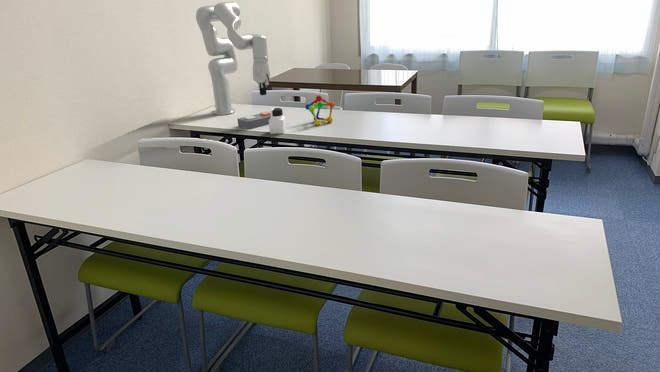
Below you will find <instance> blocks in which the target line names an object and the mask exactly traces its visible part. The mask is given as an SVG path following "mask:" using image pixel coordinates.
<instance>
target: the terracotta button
mask: <svg viewBox="0 0 660 372" xmlns="http://www.w3.org/2000/svg"><path fill="white" fill-rule="evenodd" d="M259 114H260V115H262V116H269V115H271V114H270V111H269V110H268V111H263V112H260V113H259Z"/></svg>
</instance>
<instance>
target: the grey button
mask: <svg viewBox="0 0 660 372" xmlns="http://www.w3.org/2000/svg"><path fill="white" fill-rule="evenodd" d="M248 116H249V117H247V116H244V117H245V119H247V120H252V119H256V117H254V116H251V115H248Z"/></svg>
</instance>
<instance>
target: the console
mask: <svg viewBox="0 0 660 372" xmlns="http://www.w3.org/2000/svg"><path fill="white" fill-rule="evenodd" d="M249 116H254V117H256V119H252V120H247V119H245V117H249ZM270 118H271V115H269V116H262V115H260V113H256V114H253V115H252V114H251V115H247V116H244V117H238V118H237V120H236V121H237V126H238V127H240V128H243V129H246V130H251V129H254V128H260V127H263V126H267V125H269V119H270Z"/></svg>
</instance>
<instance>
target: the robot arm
mask: <svg viewBox="0 0 660 372" xmlns="http://www.w3.org/2000/svg"><path fill="white" fill-rule="evenodd" d="M240 14H241V8H240V6H239V4H237V2H235V1H227V2H226V1H224V2H218V3H216V4H214V5H204V6H200V7H199V8H197V10H196V12H195V21H196V23H197V26H198V28H199V30H200V33H201V35H202V39H203V43H204V46H205V51H206V53H207V54H208V56H210V57H217V58H213V59H211V60H210V61H209V62H208V64H207V68H208V71H209V75H210V78H211V83H212V90H213V97H214V98H213V99H214V108H215V110H214V111H213V114H214V115H216V116H224V115H225V116H226V115H231V114H234V113H235V112H236V109H235V108H233V105H232V97H231V90H230V89H231V87H230V82H229V80H228V78H227V77H226V75H229V74H233V73H235V72H237V71H238V67H239V65H238V60H237V55H236V52H235V49H237V50H239V51H245V50H252V60H253V64H252V79H253V81H254V82H256V84H258V89H259V96H266V95H267V88H268V87H267V86H269V85H270V83H269V82H270V81H271V74H270V66H269V58H268V42H267V41H268V40H267V36H266V35H264V34H258V33H245V34H239V33H238V32H237V30H238V29H240V27H241V25H242V20H241V18H240ZM211 22H212V23H211ZM213 22H221V23H222V24H223V26H225V28H226V29H227V31H226V35H227V37H219V34H218V30H217V28H216V27H215V26H214V24H213ZM219 56H223V57H219Z"/></svg>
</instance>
